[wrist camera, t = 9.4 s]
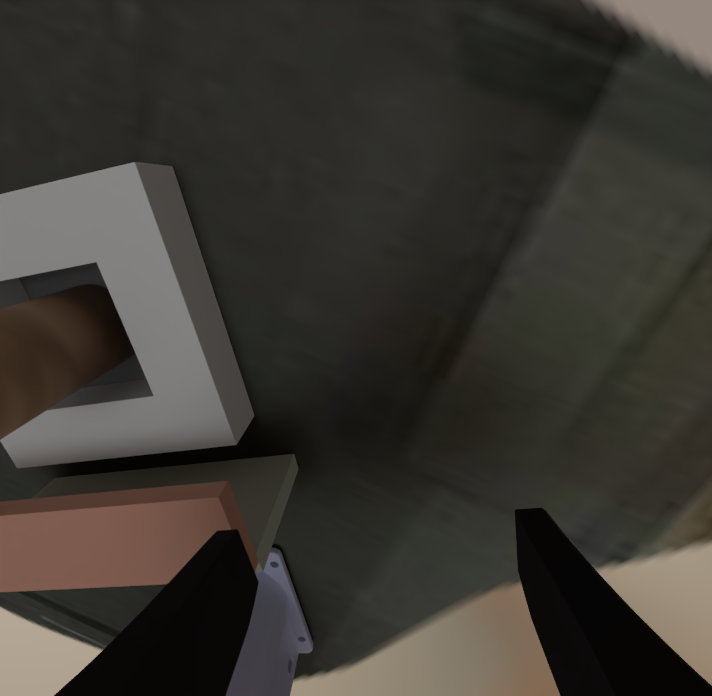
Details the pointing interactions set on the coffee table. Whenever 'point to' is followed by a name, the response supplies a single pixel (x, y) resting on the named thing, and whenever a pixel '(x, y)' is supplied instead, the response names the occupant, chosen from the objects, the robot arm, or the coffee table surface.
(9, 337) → the peg
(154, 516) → the pink slab
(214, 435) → the socket block
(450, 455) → the coffee table surface
